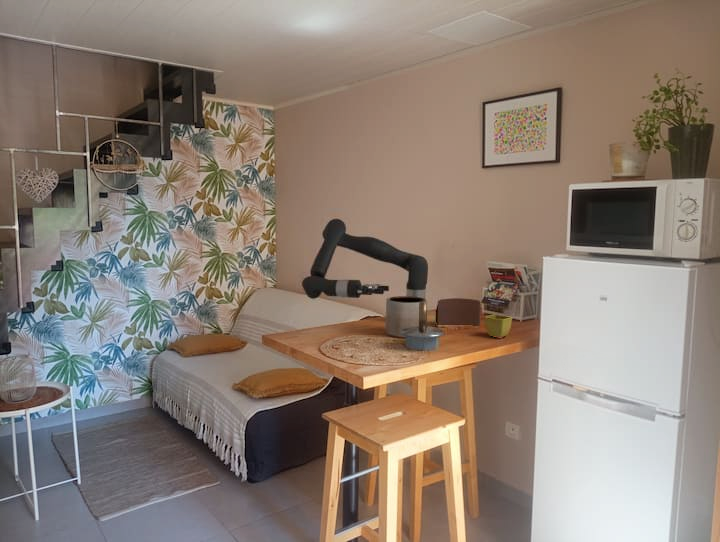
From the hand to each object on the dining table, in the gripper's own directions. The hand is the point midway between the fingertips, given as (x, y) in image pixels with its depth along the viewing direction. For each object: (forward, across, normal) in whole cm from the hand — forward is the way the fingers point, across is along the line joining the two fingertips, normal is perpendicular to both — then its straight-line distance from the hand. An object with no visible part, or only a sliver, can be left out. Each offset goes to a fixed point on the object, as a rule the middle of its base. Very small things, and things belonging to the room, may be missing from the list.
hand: (386, 289), depth 224 cm
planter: (+5, +16, +22) cm, 27 cm away
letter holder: (+24, +41, +23) cm, 53 cm away
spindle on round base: (+16, -4, +16) cm, 23 cm away
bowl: (+16, -4, +22) cm, 27 cm away
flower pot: (+44, +23, +23) cm, 55 cm away
